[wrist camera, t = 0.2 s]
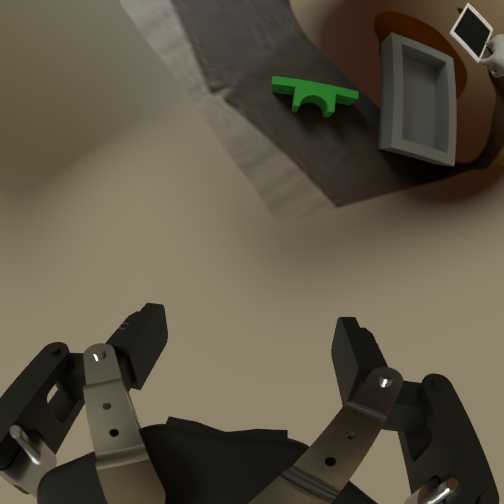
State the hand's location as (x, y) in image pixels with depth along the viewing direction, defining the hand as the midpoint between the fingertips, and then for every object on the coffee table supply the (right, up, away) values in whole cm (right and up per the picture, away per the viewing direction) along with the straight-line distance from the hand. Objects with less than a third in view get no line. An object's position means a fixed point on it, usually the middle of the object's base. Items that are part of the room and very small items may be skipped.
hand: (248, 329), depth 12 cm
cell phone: (+43, +47, +12) cm, 65 cm away
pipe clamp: (+8, +25, +22) cm, 34 cm away
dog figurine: (+47, +42, +13) cm, 64 cm away
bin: (+25, +26, +19) cm, 41 cm away
